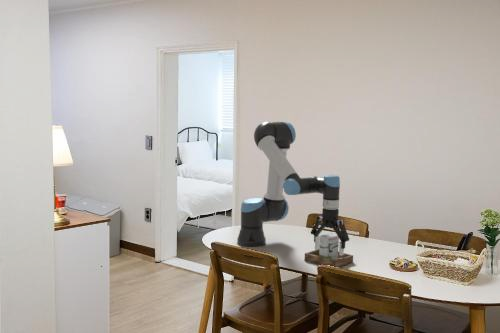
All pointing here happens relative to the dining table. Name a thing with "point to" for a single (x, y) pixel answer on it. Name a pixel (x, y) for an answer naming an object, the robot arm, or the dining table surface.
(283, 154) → the robot arm
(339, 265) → the walled box
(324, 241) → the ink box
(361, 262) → the dining table surface
